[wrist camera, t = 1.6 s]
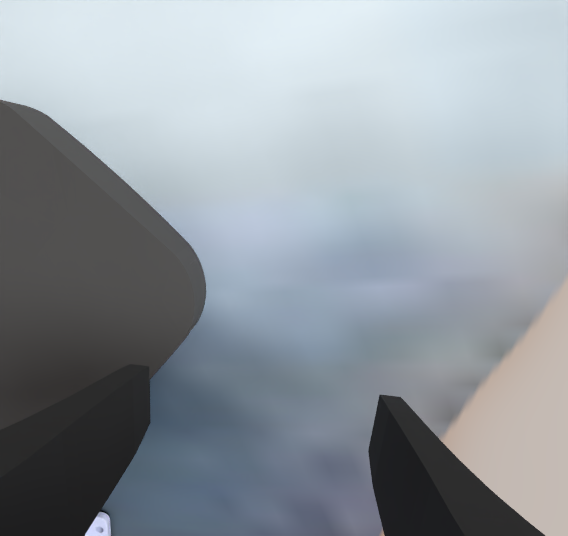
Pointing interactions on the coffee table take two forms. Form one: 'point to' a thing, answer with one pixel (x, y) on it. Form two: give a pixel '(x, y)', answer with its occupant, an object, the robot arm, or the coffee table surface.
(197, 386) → the coffee table surface
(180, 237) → the media streaming box
